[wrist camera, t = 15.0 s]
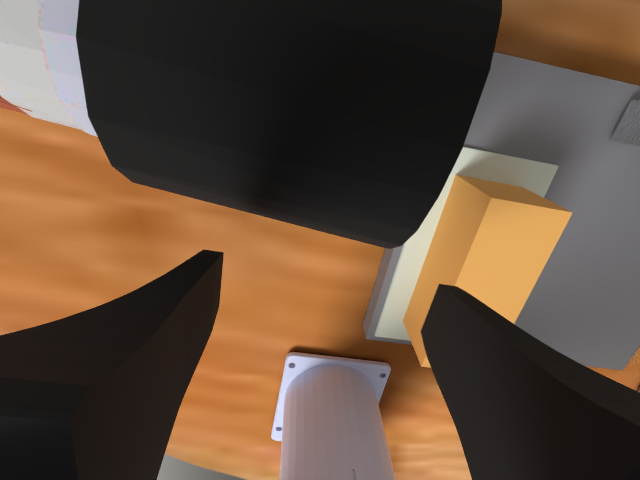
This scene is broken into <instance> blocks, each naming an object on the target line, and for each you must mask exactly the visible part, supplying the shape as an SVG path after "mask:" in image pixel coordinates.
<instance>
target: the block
mask: <svg viewBox="0 0 640 480" xmlns="http://www.w3.org/2000/svg"><path fill="white" fill-rule="evenodd" d="M572 213H573V212H571V211H569V210H567V209H565V208H563V207H561V206H559V205H557V204H555V203H553V202H551V201H549V200H547V199H545V198H543V197H541V196H539V195H537V194H535V193H533V192H531V191H529V190H527V189H525V188H523V187H519V186H514V185H509V184H503V183H498V182H493V181H487V180H482V179H477V178H471V177H466V176H461V175H455V177H454V180H453V183H452V186H451V189H450V191H449V194H448V197H447V200H446V202H445V205H444V208H443V211H442V213H441V216H440V219H439V222H438V225H437V227H436V230H435V233H434V236H433V238H432V241H431V244H430V247H429V250H428V252H427V255H426V258H425V261H424V263H423V266H422V269H421V272H420V275H419V277H418V280H417V283H416V286H415V288H414V291H413V294H412V297H411V300H410V302H409V305H408V308H407V311H406V313H405V316H404V319H403V323H404V325H405V328H406V330H407V333H408V335H409V338H410V340H411V342H412V345H413V347H414V350H415V352H416V355H417V357H418V360H419V362H420V365H421V367H429V368H431V366H430V364H429V361H428V358H427V355H426V352H425V348H424V344H423V340H422V335H421V329H422V326H423V324H424V321H425V319H426V316H427V314H428V311H429V308H430V306H431V303H432V301H433V298H434V296H435V293H436V290H437V288H438V285H439V284H444V285H451V286H457V287H459V288H461V289H462V290H464V291H466V292H467V293H469V294H471V295H472V296H474V297H475V298H477V299H478V300H480V301H481V302H483V303H484V304H486V305H487V306H488V307H490V308H491V309H493V310H494V311H496V312H497V313H499V314H500V315H501V316H503V317H504V318H506V319H507V320H509V321H510V322H512V323H513V324H514V323H515V321H516V319H517V317H518V316H519V314H520V312H521V310H522V308H523V306H524V304H525V302H526V300H527V299H528V297H529V295H530V293H531V291H532V289H533V287H534V285H535V283H536V281H537V280H538V278H539V276H540V274H541V272H542V270H543V268H544V266H545V264H546V263H547V261H548V259H549V257H550V255H551V253H552V251H553V249H554V247H555V245H556V244H557V242H558V240H559V238H560V236H561V234H562V232H563V230H564V228H565V227H566V225H567V223H568V221H569V219H570V217H571V215H572Z"/></svg>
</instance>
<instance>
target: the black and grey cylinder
mask: <svg viewBox="0 0 640 480" xmlns="http://www.w3.org/2000/svg"><path fill="white" fill-rule="evenodd" d="M501 14H502V0H0V108H4V109H9V110H13V111H17V112H20V113H24V114H27V115H30V116H32V117H35V118H38V119H42V120H46V121H50V122H54V123H58V124H61V125H65V126H69V127H73V128H77V129H81V130H83V131H84V132H86V133H88V134H91V135H93V136H96V137H98V138H99V140H100V142H101V144H102V147H103V149H104V151H105V153H106V155H107V157H108V159H109V161H110V163H111V165H112V166H113V167H114V168H115V169H117V170H118V171H119V172H120V173H122V174H123V175H124V176H125V177H127V178H128V179H129V180H130V181H132V182H134V183H137V184H141V185H145V186H149V187H153V188H157V189H161V190H164V191H168V192H172V193H176V194H180V195H184V196H187V197H191V198H195V199H199V200H203V201H207V202H211V203H214V204H218V205H222V206H226V207H230V208H234V209H237V210H241V211H245V212H249V213H253V214H257V215H261V216H264V217H268V218H272V219H276V220H280V221H284V222H287V223H291V224H295V225H299V226H303V227H307V228H311V229H314V230H318V231H322V232H326V233H330V234H334V235H338V236H341V237H345V238H349V239H353V240H357V241H361V242H364V243H368V244H372V245H376V246H380V247H384V248H388V249H392V248H395V247H399V246H402V245H403V244H404V243H405V242H406V241H407V240H408V239H409V238H410V237H411V236H413V235H414V234H415V233H416V232H417V230H418V229H419V227H420V226H421V224H422V223H423V221H424V219H425V218H426V216H427V215H428V213H429V212H430V210H431V208H432V207H433V205H434V204H435V202H436V201H437V199H438V197H439V196H440V194H441V192H442V190H443V188H444V186H445V183H446V181H447V179H448V177H449V175H450V173H451V171H452V169H453V167H454V165H455V163H456V161H457V159H458V157H459V155H460V153H461V151H462V148H463V145H464V143H465V140H466V137H467V134H468V131H469V128H470V126H471V123H472V120H473V117H474V114H475V111H476V109H477V106H478V103H479V100H480V97H481V94H482V91H483V89H484V86H485V83H486V80H487V77H488V74H489V72H490V68H491V63H492V58H493V53H494V48H495V43H496V38H497V33H498V28H499V23H500V19H501Z"/></svg>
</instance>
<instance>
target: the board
mask: <svg viewBox="0 0 640 480" xmlns="http://www.w3.org/2000/svg"><path fill="white" fill-rule="evenodd" d="M631 100H639V101H640V86H638V85H634V84H630V83H626V82H621V81H617V80H613V79H608V78H604V77H600V76H596V75H591V74H587V73H583V72H578V71H574V70H570V69H566V68H561V67H557V66H553V65H548V64H544V63H540V62H536V61H531V60H527V59H523V58H518V57H514V56H510V55H506V54H501V53H497V52H494V53H493V58H492V63H491V68H490V72H489V74H488V77H487V80H486V83H485V86H484V89H483V91H482V94H481V97H480V100H479V103H478V106H477V109H476V111H475V114H474V117H473V120H472V123H471V126H470V128H469V131H468V134H467V137H466V140H465V143H464V145H463V148H462V151H461V153H460V155H459V157H458V159H457V161H456V163H455V165H454V167H453V169H452V171H451V173H450V175H449V177H448V179H447V181H446V183H445V186H444V188H443V190H442V192H441V194H440V196H439V197H438V199H437V201H436V202H435V204H434V205H433V207H432V208H431V210H430V212H429V213H428V215H427V216H426V218H425V219H424V221H423V223H422V224H421V226H420V227H419V229H418V230H417V232H416V233H415V234H414V235H413V236H411V237H410V238H409V239H408V240H407V241H406V242H405V243H404V244H403V245H402V246H399V247H395V248H392V249H388V248H385V251H384V254H383V258H382V261H381V264H380V268H379V271H378V274H377V278H376V281H375V284H374V288H373V291H372V294H371V298H370V301H369V304H368V308H367V311H366V314H365V318H364V321H363V324H362V326H363V330H364V334H365V338H366V339H368V340H376V341H384V342H393V343H401V344H409V345H412V342H411V340H410V338H409V335H408V333H407V330H406V328H405V325H404V323H403V319H404V316H405V313H406V311H407V308H408V305H409V302H410V300H411V297H412V294H413V291H414V288H415V286H416V283H417V280H418V277H419V275H420V272H421V269H422V266H423V263H424V261H425V258H426V255H427V252H428V250H429V247H430V244H431V241H432V238H433V236H434V233H435V230H436V227H437V225H438V222H439V219H440V216H441V213H442V211H443V208H444V205H445V202H446V200H447V197H448V194H449V191H450V189H451V186H452V183H453V180H454V177H455V175H461V176H466V177H471V178H477V179H482V180H487V181H493V182H498V183H503V184H509V185H514V186H519V187H523V188H525V189H527V190H529V191H531V192H533V193H535V194H537V195H539V196H541V197H543V198H545V199H547V200H549V201H551V202H553V203H555V204H557V205H559V206H561V207H563V208H565V209H567V210H569V211H571V212H573V213H572V215H571V217H570V219H569V221H568V223H567V225H566V227H565V228H564V230H563V232H562V234H561V236H560V238H559V240H558V242H557V244H556V245H555V247H554V249H553V251H552V253H551V255H550V257H549V259H548V261H547V263H546V264H545V266H544V268H543V270H542V272H541V274H540V276H539V278H538V280H537V281H536V283H535V285H534V287H533V289H532V291H531V293H530V295H529V297H528V299H527V300H526V302H525V304H524V306H523V308H522V310H521V312H520V314H519V316H518V317H517V319H516V321H515V323H514V324H515V325H516V326H518V327H519V328H521V329H522V330H524V331H525V332H527V333H528V334H530V335H532V336H533V337H535V338H536V339H538V340H540V341H541V342H543V343H544V344H546V345H548V346H549V347H551V348H553V349H554V350H556V351H558V352H560V353H562V354H563V355H565V356H567V357H569V358H571V359H572V360H574V361H576V362H578V363H580V364H581V365H583V366H590V367H598V368H607V369H615V370H623V369H624V368H625V366H626V365H627V364H628V362H629V361H630V360H631V358H632V357H633V356H634V354H635V353H636V351H637V350H638V349H639V347H640V146H636V145H632V144H627V143H622V142H617V141H613V140H610V139H611V137H612V136H613V134H614V132H615V130H616V128H617V126H618V124H619V122H620V120H621V118H622V117H623V115H624V113H625V111H626V109H627V107H628V105H629V103H630V101H631Z"/></svg>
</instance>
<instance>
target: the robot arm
mask: <svg viewBox="0 0 640 480" xmlns="http://www.w3.org/2000/svg"><path fill="white" fill-rule="evenodd" d="M222 265H223V252H217V251H210V250H202V251H201V252H199V253H198V254H196V255H194V256H193V257H191V258H190V259H188V260H187V261H185V262H184V263H182V264H181V265H179V266H177V267H176V268H174V269H173V270H171V271H169V272H168V273H166V274H164V275H163V276H161V277H159V278H157V279H155V280H153V281H152V282H150V283H148V284H146V285H144V286H142V287H140V288H139V289H137V290H135V291H133V292H130V293H128V294H126V295H124V296H122V297H119V298H117V299H115V300H112V301H110V302H108V303H105V304H103V305H100V306H98V307H95V308H92V309H89V310H86V311H83V312H80V313H77V314H75V315H72V316H69V317H66V318H63V319H60V320H57V321H53V322H50V323H46V324H43V325H39V326H36V327H32V328H28V329H24V330H21V331H17V332H13V333H9V334H5V335H0V480H156V479H157V476H158V473H159V470H160V466H161V463H162V460H163V457H164V454H165V450H166V447H167V444H168V441H169V438H170V435H171V432H172V429H173V425H174V422H175V419H176V416H177V413H178V410H179V407H180V405H181V402H182V399H183V397H184V394H185V392H186V390H187V387H188V385H189V383H190V381H191V378H192V376H193V374H194V371H195V369H196V367H197V365H198V362H199V360H200V358H201V355H202V353H203V351H204V349H205V346H206V344H207V342H208V339H209V337H210V335H211V332H212V329H213V325H214V322H215V319H216V315H217V311H218V308H219V301H220V289H221V277H222ZM421 335H422V340H423V344H424V348H425V352H426V355H427V358H428V361H429V364H430V366H431V369H432V371H433V373H434V376H435V378H436V381H437V383H438V385H439V388H440V390H441V392H442V395H443V397H444V399H445V402H446V404H447V407H448V409H449V411H450V414H451V416H452V418H453V421H454V423H455V426H456V429H457V431H458V434H459V437H460V441H461V444H462V447H463V450H464V454H465V457H466V460H467V463H468V467H469V470H470V474H471V477H472V480H640V392H638V391H635V390H633V389H631V388H629V387H626V386H624V385H622V384H620V383H618V382H616V381H614V380H612V379H610V378H608V377H605V376H603V375H601V374H599V373H597V372H595V371H593V370H591V369H589V368H587V367H585V366H583V365H581V364H580V363H578V362H576V361H574V360H572V359H571V358H569V357H567V356H565V355H563V354H562V353H560V352H558V351H556V350H554V349H553V348H551V347H549V346H548V345H546V344H544V343H543V342H541V341H540V340H538V339H536V338H535V337H533V336H532V335H530V334H528V333H527V332H525V331H524V330H522V329H521V328H519V327H518V326H516V325H515V324H513V323H512V322H510V321H509V320H507V319H506V318H504V317H503V316H501V315H500V314H499V313H497V312H496V311H494V310H493V309H491V308H490V307H488V306H487V305H486V304H484V303H483V302H481V301H480V300H478V299H477V298H475V297H474V296H472V295H471V294H469V293H467V292H466V291H464V290H462V289H461V288H459V287H457V286H451V285H444V284H439V285H438V288H437V290H436V293H435V296H434V298H433V301H432V303H431V306H430V308H429V311H428V314H427V316H426V319H425V321H424V324H423V326H422V329H421ZM290 363H294V364H290ZM390 371H391V368H390V365H389V364H388V363H386V362H377V361H369V360H360V359H351V358H342V357H333V356H325V355H316V354H307V353H298V352H290V353H288V354H287V356H286V361H285V366H284V371H283V376H282V381H281V386H280V392H279V397H278V402H277V407H276V412H275V417H274V422H273V427H272V432H271V438H272V439H273V440H276V441H282V445H281V463H280V480H396V479H395V475H394V470H393V466H392V462H391V457H390V453H389V448H388V444H387V440H386V435H385V431H384V427H383V422H382V418H381V414H380V409H379V405H378V404H379V401H380V399H381V396H382V393H383V391H384V388H385V385H386V382H387V380H388V377H389V374H390ZM381 373H384V374H381Z"/></svg>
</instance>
